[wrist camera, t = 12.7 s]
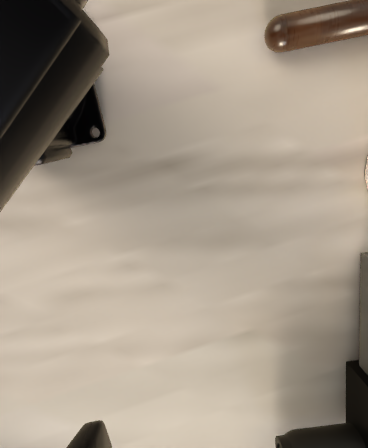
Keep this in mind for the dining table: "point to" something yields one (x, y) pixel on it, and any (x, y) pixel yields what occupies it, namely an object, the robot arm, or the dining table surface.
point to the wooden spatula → (317, 26)
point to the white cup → (366, 173)
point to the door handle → (355, 395)
